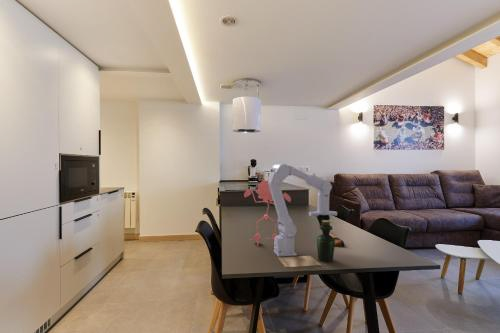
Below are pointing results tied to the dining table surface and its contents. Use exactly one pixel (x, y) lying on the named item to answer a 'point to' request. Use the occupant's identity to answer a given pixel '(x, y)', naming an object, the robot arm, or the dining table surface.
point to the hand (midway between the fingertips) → (322, 229)
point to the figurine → (265, 195)
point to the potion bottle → (325, 243)
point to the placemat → (298, 261)
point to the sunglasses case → (337, 240)
